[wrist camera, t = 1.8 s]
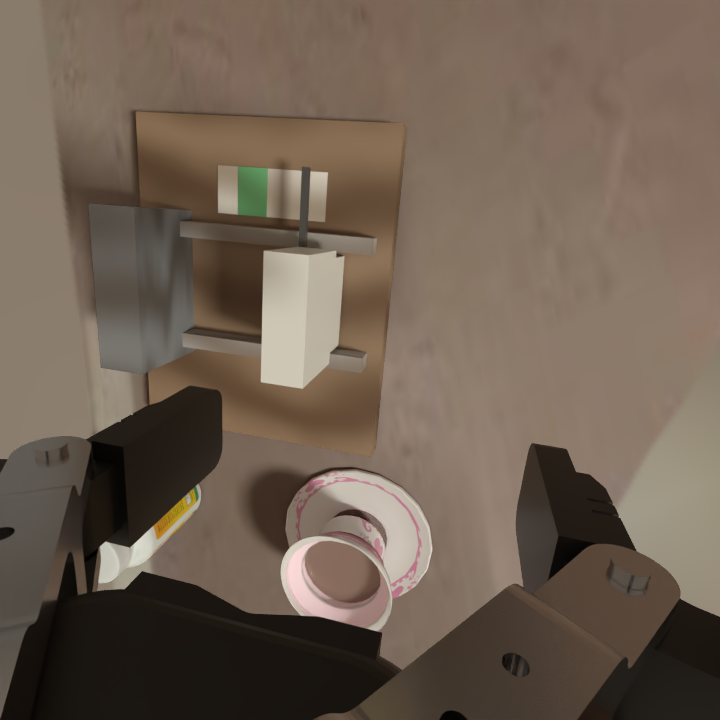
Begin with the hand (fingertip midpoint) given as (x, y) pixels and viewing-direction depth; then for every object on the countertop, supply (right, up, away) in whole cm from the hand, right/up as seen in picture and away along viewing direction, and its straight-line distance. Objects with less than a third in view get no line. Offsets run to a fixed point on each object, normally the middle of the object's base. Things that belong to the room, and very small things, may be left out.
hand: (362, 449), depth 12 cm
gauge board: (-7, +7, +23) cm, 25 cm away
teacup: (0, -12, +27) cm, 30 cm away
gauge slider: (-3, +8, +20) cm, 22 cm away
